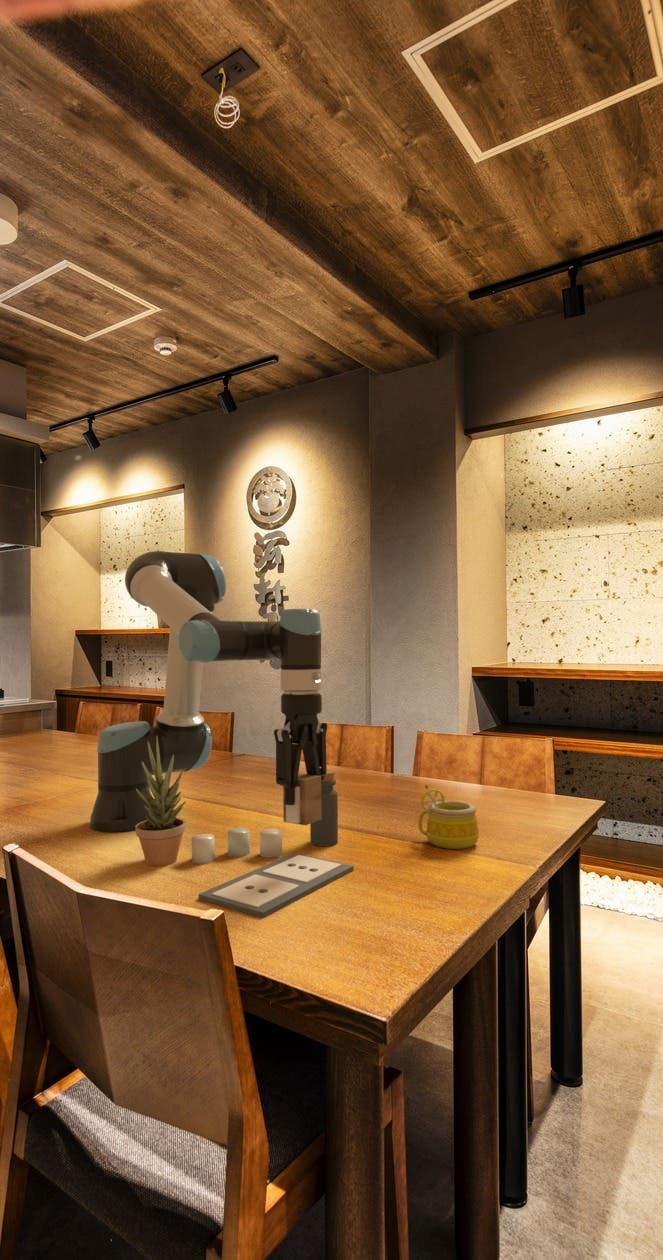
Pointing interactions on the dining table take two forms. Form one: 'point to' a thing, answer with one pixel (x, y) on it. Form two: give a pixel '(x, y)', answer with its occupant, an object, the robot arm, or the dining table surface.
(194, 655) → the robot arm
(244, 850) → the grey-green upright cylinder
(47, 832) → the dining table surface
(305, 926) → the dining table surface
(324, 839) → the bottle
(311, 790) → the block
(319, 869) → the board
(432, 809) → the mug
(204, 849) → the pale grey cylinder
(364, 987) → the dining table surface
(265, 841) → the short white cylinder
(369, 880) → the dining table surface
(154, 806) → the potted plant
